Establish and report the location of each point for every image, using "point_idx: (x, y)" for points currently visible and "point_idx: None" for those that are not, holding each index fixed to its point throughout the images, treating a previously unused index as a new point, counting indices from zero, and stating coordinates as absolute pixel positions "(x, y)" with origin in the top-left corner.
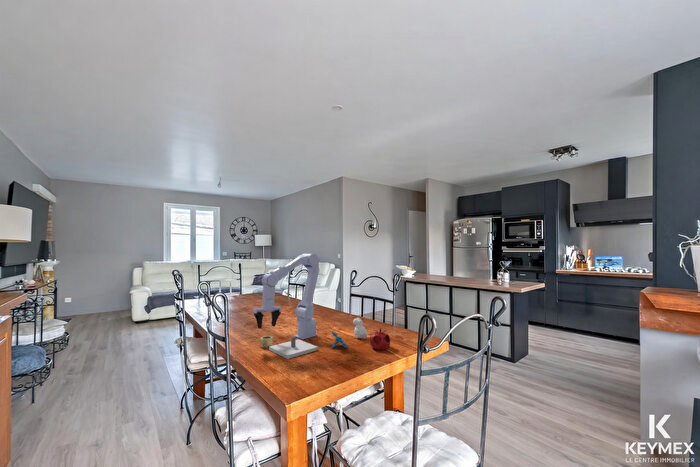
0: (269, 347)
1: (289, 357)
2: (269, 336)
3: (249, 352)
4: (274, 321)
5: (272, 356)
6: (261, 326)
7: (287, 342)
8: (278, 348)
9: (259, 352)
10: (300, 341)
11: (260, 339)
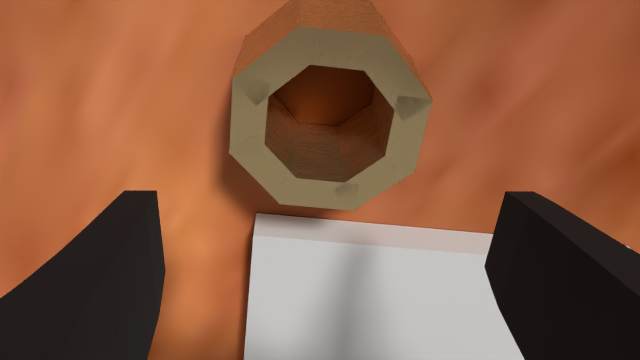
0: (253, 235)
1: None
2: (395, 111)
3: (38, 117)
4: (536, 348)
5: (180, 353)
6: (151, 313)
7: None
8: (286, 337)
9: None
10: None
11: (234, 78)
